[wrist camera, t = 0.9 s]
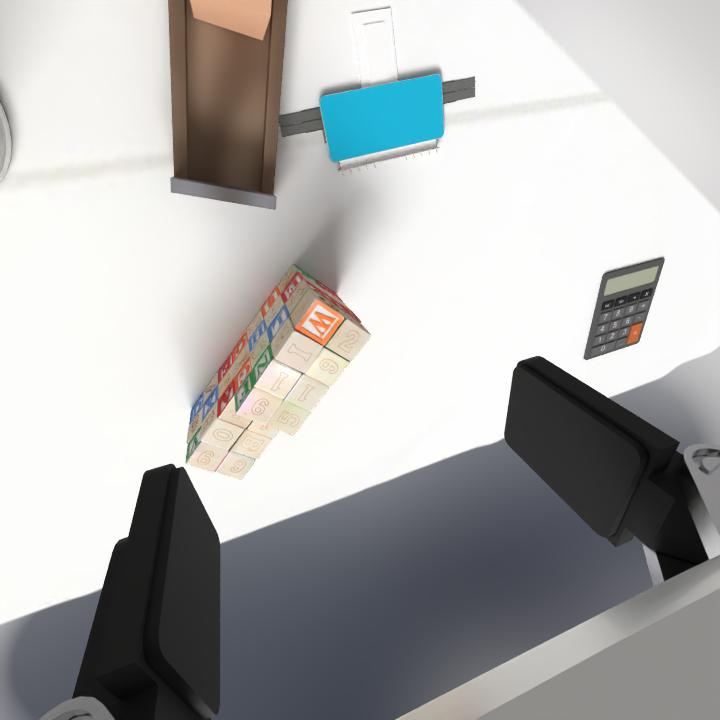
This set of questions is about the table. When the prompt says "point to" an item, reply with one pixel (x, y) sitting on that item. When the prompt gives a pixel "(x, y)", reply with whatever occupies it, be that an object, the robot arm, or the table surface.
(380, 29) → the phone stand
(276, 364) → the stack of blocks
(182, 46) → the chute
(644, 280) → the calculator
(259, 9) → the block
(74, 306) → the table surface
